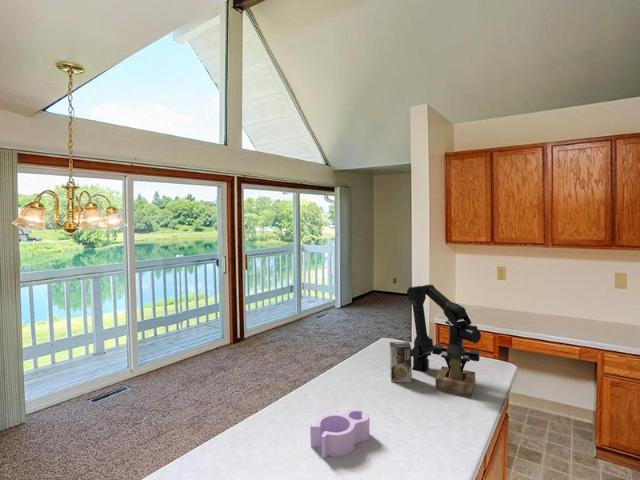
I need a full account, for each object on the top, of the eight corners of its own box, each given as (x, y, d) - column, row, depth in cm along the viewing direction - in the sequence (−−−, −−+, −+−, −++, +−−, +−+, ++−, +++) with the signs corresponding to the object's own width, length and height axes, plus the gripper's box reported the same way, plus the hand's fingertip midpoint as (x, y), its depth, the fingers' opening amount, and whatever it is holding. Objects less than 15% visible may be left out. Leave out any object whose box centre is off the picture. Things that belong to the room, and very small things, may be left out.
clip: (354, 423, 132) (353, 404, 132) (377, 440, 122) (377, 420, 121) (306, 442, 122) (305, 422, 121) (327, 463, 111) (327, 441, 111)
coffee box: (409, 376, 169) (409, 342, 168) (411, 382, 163) (411, 347, 162) (389, 375, 170) (389, 341, 169) (390, 382, 164) (390, 346, 163)
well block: (435, 389, 156) (435, 378, 156) (442, 376, 168) (442, 366, 168) (471, 397, 149) (471, 385, 149) (475, 383, 162) (475, 372, 161)
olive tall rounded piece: (464, 384, 155) (464, 359, 154) (449, 383, 156) (449, 358, 156) (461, 378, 161) (462, 353, 160) (447, 377, 162) (447, 352, 162)
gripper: (429, 338, 155) (429, 374, 156) (477, 345, 146) (477, 384, 147) (435, 331, 165) (434, 365, 166) (480, 337, 156) (480, 373, 157)
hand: (455, 371), depth 159 cm, fingers closed on olive tall rounded piece, 4 cm apart
